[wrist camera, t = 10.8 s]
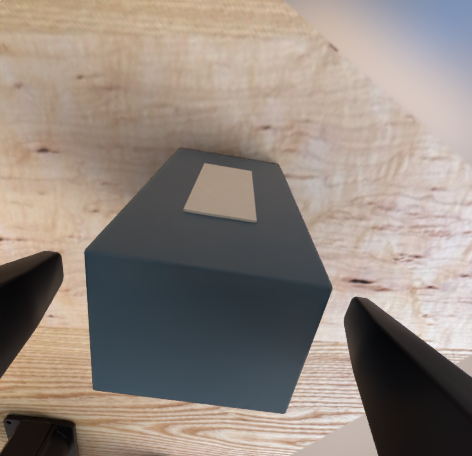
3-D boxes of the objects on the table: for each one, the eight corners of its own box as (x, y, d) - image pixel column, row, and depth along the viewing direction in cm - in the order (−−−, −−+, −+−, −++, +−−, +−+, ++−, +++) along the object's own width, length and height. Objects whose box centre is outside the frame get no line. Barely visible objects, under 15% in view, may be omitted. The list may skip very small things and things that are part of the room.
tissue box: (285, 415, 10) (336, 284, 7) (91, 391, 9) (82, 246, 7) (262, 237, 20) (280, 162, 18) (173, 223, 20) (179, 145, 18)
